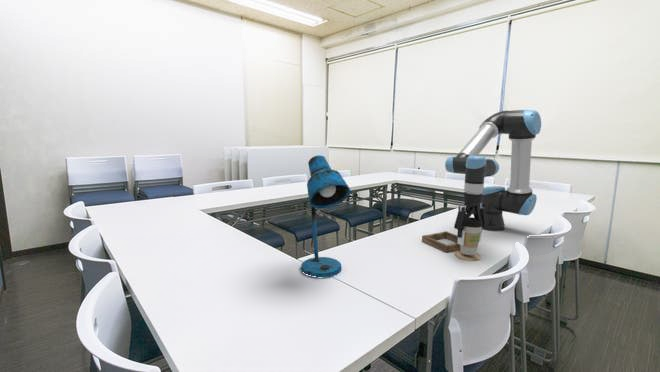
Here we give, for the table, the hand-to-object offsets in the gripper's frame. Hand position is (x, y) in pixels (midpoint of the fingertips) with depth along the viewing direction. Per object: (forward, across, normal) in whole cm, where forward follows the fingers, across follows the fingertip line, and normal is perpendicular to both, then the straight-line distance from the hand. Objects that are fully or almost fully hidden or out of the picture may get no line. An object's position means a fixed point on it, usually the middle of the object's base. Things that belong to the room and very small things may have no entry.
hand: (468, 242), depth 141 cm
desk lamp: (+6, +64, -14) cm, 66 cm away
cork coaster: (+6, 0, 0) cm, 6 cm away
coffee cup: (+5, 0, 0) cm, 5 cm away
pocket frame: (+6, -2, -14) cm, 16 cm away
